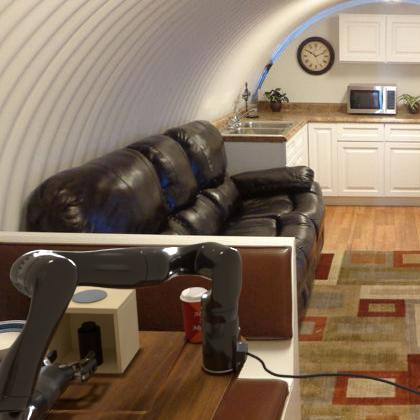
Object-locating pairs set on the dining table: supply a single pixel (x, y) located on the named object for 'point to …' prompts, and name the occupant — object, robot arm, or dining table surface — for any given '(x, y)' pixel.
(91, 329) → the pepper mill
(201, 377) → the dining table surface
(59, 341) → the cream hollow block
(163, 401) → the dining table surface
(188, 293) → the paper cup
